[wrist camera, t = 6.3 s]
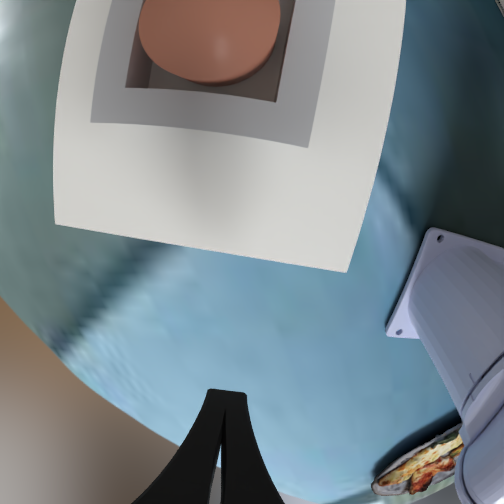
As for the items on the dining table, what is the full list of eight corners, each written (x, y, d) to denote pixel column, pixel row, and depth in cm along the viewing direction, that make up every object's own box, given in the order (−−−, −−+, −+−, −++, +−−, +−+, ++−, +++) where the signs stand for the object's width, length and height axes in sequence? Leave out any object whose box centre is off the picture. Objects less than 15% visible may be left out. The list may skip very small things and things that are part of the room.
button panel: (395, -55, 9) (426, -86, 4) (337, 255, 17) (359, 299, 13) (127, -82, 8) (99, -114, 4) (72, 212, 16) (29, 242, 12)
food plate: (388, 495, 37) (392, 510, 33) (345, 463, 29) (350, 486, 26) (510, 426, 31) (518, 440, 27) (523, 358, 23) (537, 377, 20)
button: (284, -3, 9) (290, -31, 7) (265, 94, 12) (267, 87, 9) (175, -12, 9) (155, -38, 7) (155, 82, 11) (127, 75, 9)
